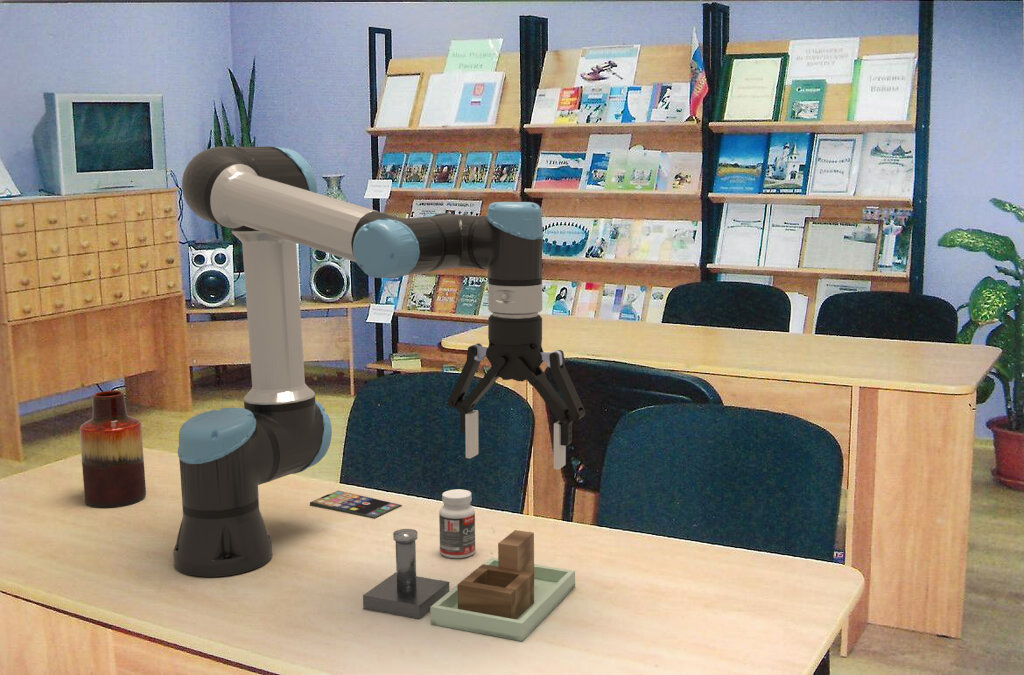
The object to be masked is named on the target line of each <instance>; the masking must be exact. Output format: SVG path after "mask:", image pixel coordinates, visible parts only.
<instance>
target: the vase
mask: <svg viewBox="0 0 1024 675" xmlns="http://www.w3.org/2000/svg"><path fill="white" fill-rule="evenodd" d="M79 440H80V442H79V443H80V451H81V452H80V453H81V467H82V468H81V469H82V478H83V479H82V480H83V492H84V502H85V504H86V505H87V506H88V507H91V508H98V509H99V508H101V509H111V508H114V509H115V508H122V507H126V506H130V505H134V504H136V503H140V502H141V501H143V500H145V498H146V495H147V489H146V488H147V487H146V476H145V461H144V460H145V458H144V457H145V456H144V445H143V443H144V442H143V430H142V422H141V421H140V419H138V418H136V417H134V416H130V415H128V411H127V405H126V399H125V393H124V391H121V390H104V391H98V392H95V393H93V394H92V418H91V419H89V420H87V421H85V422H84V423H82V424H81V425H80V427H79Z"/></svg>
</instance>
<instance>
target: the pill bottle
mask: <svg viewBox="0 0 1024 675" xmlns="http://www.w3.org/2000/svg"><path fill="white" fill-rule="evenodd" d="M441 496H442V497H441V500H442V503H443V505H442V506H441V507H440V508H439V513H438V515H439V516H438V517H439V522H438V523H439V552H440V554H441V555H442V556H444V557H446V558H450V559H464V558H468V557H471V556H472V555H473V554H475V551H476V512H475V511H476V510H475V508H474V506H473V505H472V504H471V503H472V500H473V499H472V498H473V497H472V492H471V491H470V490H466V489H459V488H458V489H457V488H456V489H449V490H446V491H444V492H442V494H441Z"/></svg>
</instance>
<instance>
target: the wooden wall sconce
mask: <svg viewBox="0 0 1024 675" xmlns="http://www.w3.org/2000/svg"><path fill="white" fill-rule="evenodd" d="M497 544H498V545H497V549H498V550H497V551H498V552H497V554H498V555H497V556H498V558H497V559H498V567H497V566H490V565H484V563H482V564H481V565H480V566H478V567H477V568H476V569H475V570H473V571H472V572H471V573H470V574H468V575H467V576H466V577H464V579H462V580H461V581H460V582H458V583H457V585H456V586H457V593H458V609H460V610H466V611H472V612H477V613H483V614H488V615H494V616H499V617H505V618H510V619H516V620H517V619H518V618H519V617H520V616H521V615H522V614H523V613H524V612H525V611H526V610H527V609H528V608H529V607H530V606H531V605H532V604H533V603H534V564H535V533H534V532H532V531H525V530H517V529H515V530H513V531H512V532H511V533H509V534H508V535H506V536H505V538H502V540H500V541H499V542H498V543H497Z"/></svg>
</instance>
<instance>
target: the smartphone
mask: <svg viewBox="0 0 1024 675" xmlns="http://www.w3.org/2000/svg"><path fill="white" fill-rule="evenodd" d="M309 506H311V507H315V508H320V509H325V510H331V511H335V512H338V513H344V514H349V515H354V516H359V517H365V518H367V519H368V518H369V519H374V520H375V519H377V518H379V517H382V516H384V515H386V514H388V513H391V512H393V511H395V510H397V509H399V508H402V507H403V505H402V504H399V503H396V502H391V501H385V500H383V499H382V500H381V499H377V498H374V497H368V496H366V495H365V496H364V495H361V494H356V493H355V494H354V493H351V492H347V491H342V490H338V489H337V490H336V491H334V492H331V493H328V494H326V495H324V496H321V497H320V498H316V499H314V500H312V501H309Z"/></svg>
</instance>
